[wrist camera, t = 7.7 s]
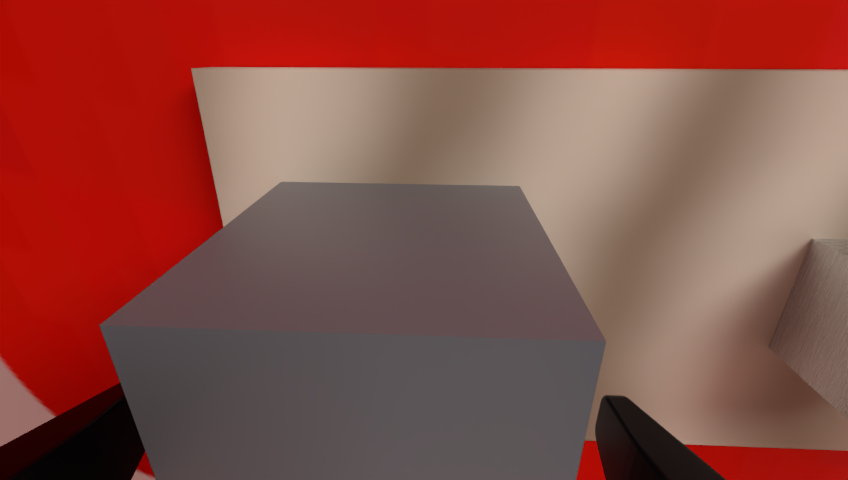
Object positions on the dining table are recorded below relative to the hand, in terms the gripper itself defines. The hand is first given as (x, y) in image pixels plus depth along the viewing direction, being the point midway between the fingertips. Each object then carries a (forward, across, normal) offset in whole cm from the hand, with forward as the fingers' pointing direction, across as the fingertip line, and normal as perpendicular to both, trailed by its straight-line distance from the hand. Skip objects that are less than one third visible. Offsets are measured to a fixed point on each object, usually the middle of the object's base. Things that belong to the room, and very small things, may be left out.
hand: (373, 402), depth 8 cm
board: (+6, -7, 0) cm, 9 cm away
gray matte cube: (+5, 0, 0) cm, 5 cm away
